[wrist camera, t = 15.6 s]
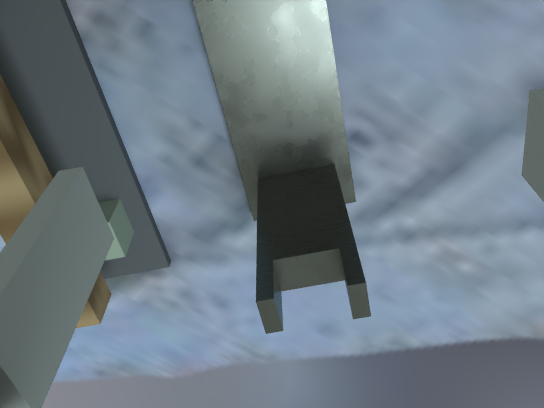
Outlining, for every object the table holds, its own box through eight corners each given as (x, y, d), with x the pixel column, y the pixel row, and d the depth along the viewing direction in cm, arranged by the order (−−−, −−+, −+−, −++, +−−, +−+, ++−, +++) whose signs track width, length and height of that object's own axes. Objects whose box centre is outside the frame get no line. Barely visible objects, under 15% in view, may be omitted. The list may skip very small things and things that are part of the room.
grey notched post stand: (156, -142, 35) (76, -163, 20) (297, -179, 34) (326, -231, 19) (254, 212, 51) (251, 351, 36) (353, 193, 50) (393, 328, 35)
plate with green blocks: (-191, -123, 36) (-252, -124, 31) (-6, -175, 34) (-43, -183, 30) (47, 283, 55) (29, 316, 51) (170, 260, 54) (163, 292, 50)
